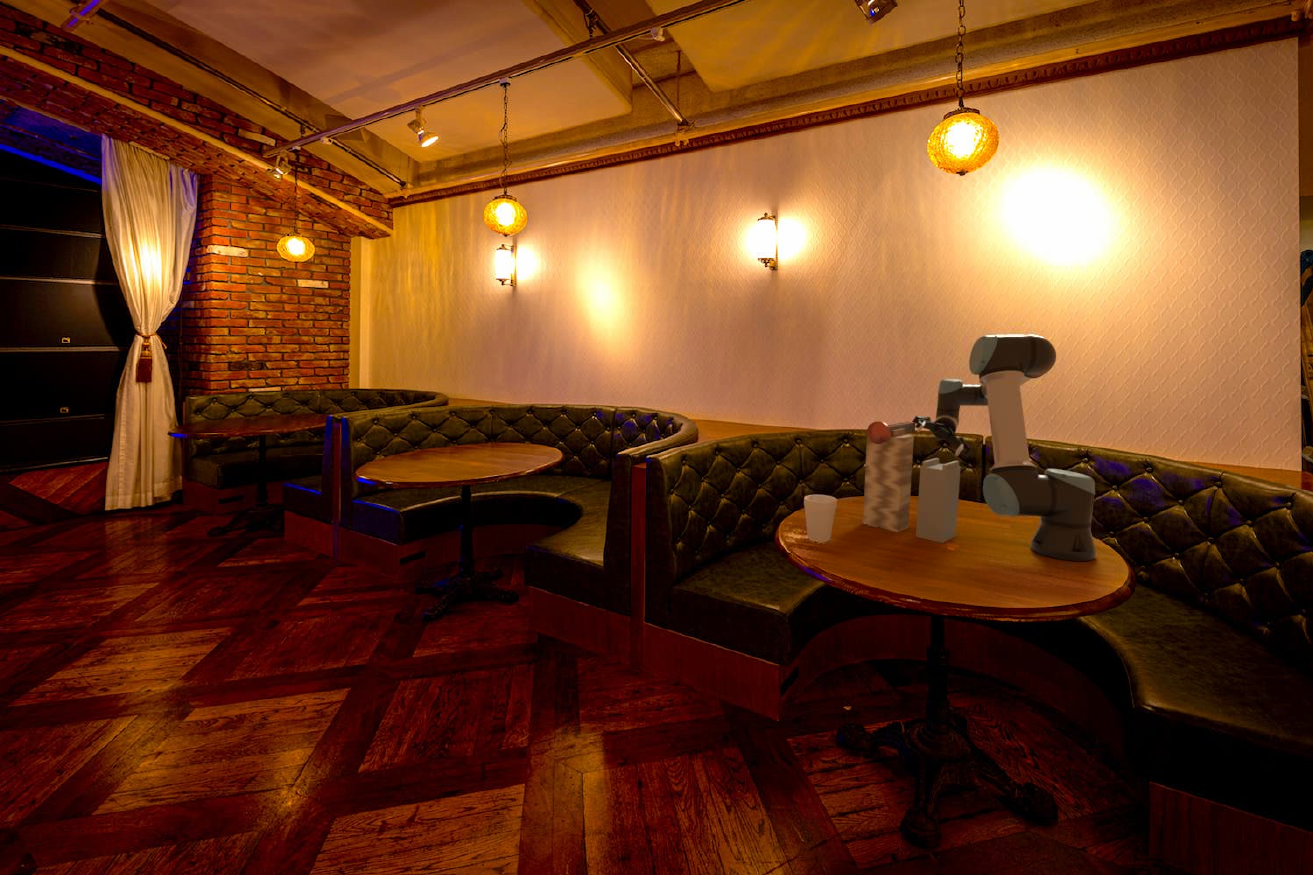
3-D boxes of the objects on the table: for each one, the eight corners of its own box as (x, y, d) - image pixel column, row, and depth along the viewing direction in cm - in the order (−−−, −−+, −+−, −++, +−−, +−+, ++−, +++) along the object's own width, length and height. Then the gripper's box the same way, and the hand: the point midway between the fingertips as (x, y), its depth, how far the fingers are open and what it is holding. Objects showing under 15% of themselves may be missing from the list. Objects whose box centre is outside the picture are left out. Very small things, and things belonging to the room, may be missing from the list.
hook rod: (920, 438, 196) (921, 417, 195) (887, 445, 182) (888, 422, 181) (900, 435, 201) (901, 415, 200) (866, 442, 187) (867, 420, 186)
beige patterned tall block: (908, 527, 192) (914, 429, 187) (897, 532, 187) (903, 431, 182) (873, 519, 201) (878, 426, 196) (862, 523, 196) (867, 428, 191)
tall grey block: (955, 536, 183) (961, 461, 179) (942, 543, 177) (947, 465, 173) (929, 530, 189) (934, 457, 185) (916, 536, 183) (920, 461, 179)
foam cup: (838, 545, 175) (840, 502, 173) (807, 545, 176) (808, 502, 174) (829, 535, 185) (831, 494, 183) (800, 535, 185) (801, 494, 183)
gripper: (970, 455, 208) (967, 471, 190) (906, 416, 215) (898, 428, 197) (984, 438, 204) (983, 453, 187) (919, 399, 212) (911, 409, 194)
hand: (939, 440), depth 192 cm, fingers open, 13 cm apart
